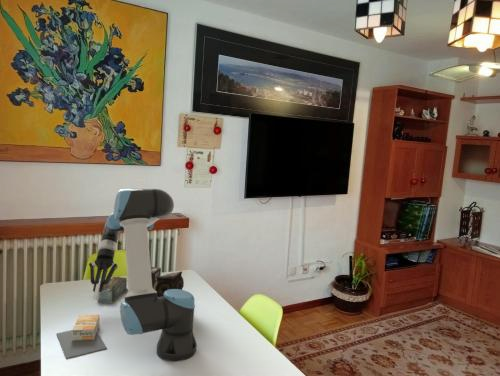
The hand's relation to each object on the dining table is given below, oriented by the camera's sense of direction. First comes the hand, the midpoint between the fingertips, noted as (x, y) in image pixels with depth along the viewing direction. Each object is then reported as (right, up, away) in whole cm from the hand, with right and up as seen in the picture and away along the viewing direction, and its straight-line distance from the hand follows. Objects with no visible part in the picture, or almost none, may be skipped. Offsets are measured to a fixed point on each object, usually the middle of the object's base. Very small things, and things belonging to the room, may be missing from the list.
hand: (95, 298), depth 167 cm
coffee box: (+18, -7, +22) cm, 29 cm away
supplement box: (+1, -6, -8) cm, 10 cm away
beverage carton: (-2, -6, +26) cm, 26 cm away
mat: (+3, -11, -20) cm, 23 cm away
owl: (+29, -10, +10) cm, 32 cm away
